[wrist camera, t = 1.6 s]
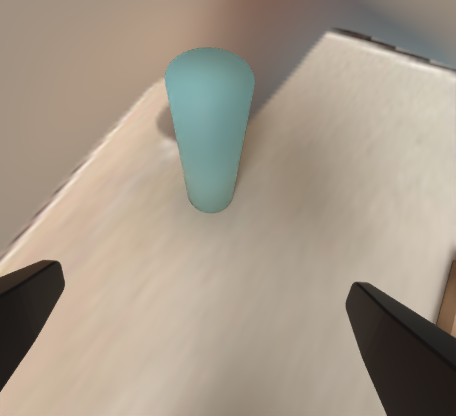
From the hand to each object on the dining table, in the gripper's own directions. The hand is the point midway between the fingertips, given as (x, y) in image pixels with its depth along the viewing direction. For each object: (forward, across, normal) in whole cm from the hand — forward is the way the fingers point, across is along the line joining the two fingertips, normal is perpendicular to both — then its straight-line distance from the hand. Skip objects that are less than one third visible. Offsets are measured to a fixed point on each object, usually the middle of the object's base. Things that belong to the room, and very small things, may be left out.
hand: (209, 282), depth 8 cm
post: (+17, +1, +3) cm, 17 cm away
